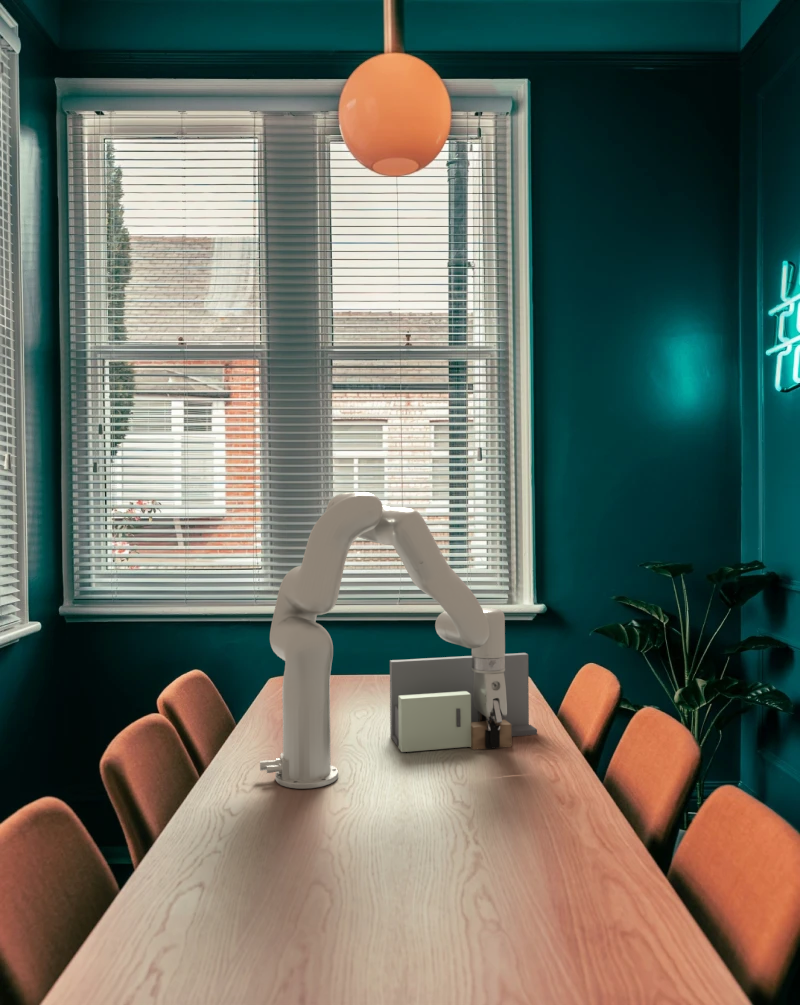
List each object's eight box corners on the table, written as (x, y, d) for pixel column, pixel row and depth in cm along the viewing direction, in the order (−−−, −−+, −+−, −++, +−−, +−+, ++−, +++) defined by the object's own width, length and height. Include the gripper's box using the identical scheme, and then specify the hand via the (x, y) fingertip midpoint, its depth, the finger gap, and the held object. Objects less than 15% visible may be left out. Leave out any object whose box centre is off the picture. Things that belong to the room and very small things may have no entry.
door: (402, 752, 169) (401, 699, 169) (398, 748, 172) (398, 695, 172) (471, 746, 172) (471, 694, 172) (467, 742, 176) (466, 691, 176)
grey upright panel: (397, 745, 175) (396, 666, 175) (390, 736, 181) (389, 660, 181) (537, 734, 182) (536, 658, 182) (525, 726, 189) (525, 652, 189)
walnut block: (473, 749, 171) (473, 727, 171) (467, 744, 175) (467, 722, 175) (511, 746, 173) (511, 724, 173) (505, 741, 177) (505, 719, 177)
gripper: (517, 670, 167) (518, 755, 167) (491, 655, 183) (492, 732, 183) (484, 672, 165) (485, 757, 165) (461, 657, 182) (461, 735, 182)
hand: (488, 743), depth 174 cm, fingers closed on walnut block, 4 cm apart
